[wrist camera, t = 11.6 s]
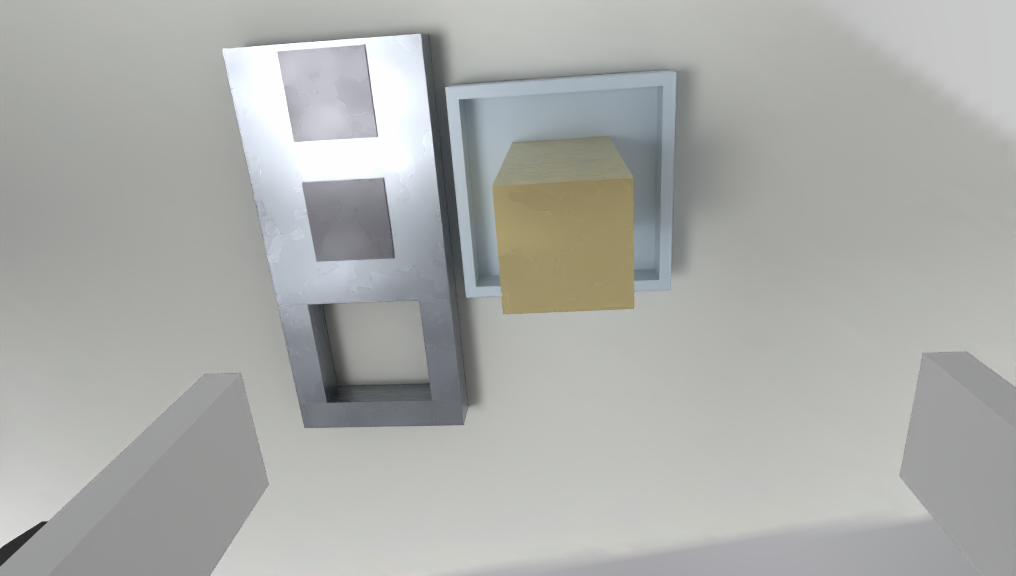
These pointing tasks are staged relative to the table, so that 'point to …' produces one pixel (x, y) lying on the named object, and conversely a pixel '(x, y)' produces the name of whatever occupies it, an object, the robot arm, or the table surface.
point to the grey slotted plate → (352, 211)
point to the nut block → (565, 227)
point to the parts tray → (563, 115)
